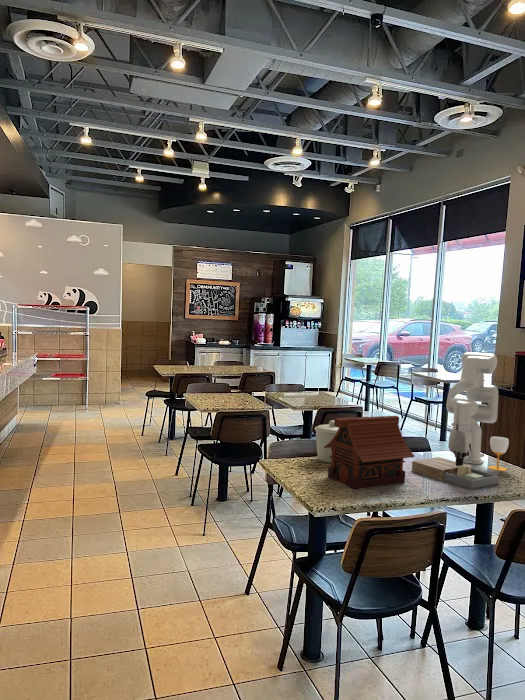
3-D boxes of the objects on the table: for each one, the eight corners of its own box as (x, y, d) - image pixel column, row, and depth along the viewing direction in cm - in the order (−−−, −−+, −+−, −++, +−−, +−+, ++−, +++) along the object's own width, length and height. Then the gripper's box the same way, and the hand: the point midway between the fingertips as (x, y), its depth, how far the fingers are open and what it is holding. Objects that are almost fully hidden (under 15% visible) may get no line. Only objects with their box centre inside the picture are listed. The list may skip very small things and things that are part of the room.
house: (373, 468, 257) (376, 410, 256) (415, 485, 232) (419, 420, 231) (314, 475, 240) (318, 413, 239) (354, 494, 215) (357, 424, 214)
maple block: (465, 464, 246) (471, 466, 243) (464, 476, 246) (469, 478, 244) (458, 465, 242) (463, 467, 240) (456, 478, 243) (462, 480, 241)
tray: (469, 476, 252) (470, 467, 252) (498, 484, 239) (498, 475, 239) (443, 481, 241) (443, 472, 241) (471, 490, 228) (472, 481, 228)
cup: (503, 467, 273) (505, 436, 272) (509, 471, 264) (511, 440, 263) (485, 465, 274) (487, 435, 273) (491, 470, 265) (493, 439, 264)
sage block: (483, 476, 238) (483, 482, 238) (471, 472, 243) (471, 479, 243) (475, 477, 235) (475, 484, 235) (464, 474, 240) (463, 480, 240)
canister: (342, 467, 257) (344, 425, 256) (308, 461, 265) (310, 420, 264) (352, 459, 273) (354, 420, 273) (319, 454, 281) (321, 416, 280)
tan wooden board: (438, 466, 267) (438, 457, 267) (468, 475, 252) (469, 465, 252) (411, 470, 256) (412, 460, 256) (442, 480, 241) (442, 470, 241)
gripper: (443, 425, 249) (440, 462, 249) (470, 430, 236) (468, 470, 237) (453, 424, 253) (450, 461, 254) (480, 429, 240) (478, 469, 241)
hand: (459, 465), depth 245 cm, fingers closed
